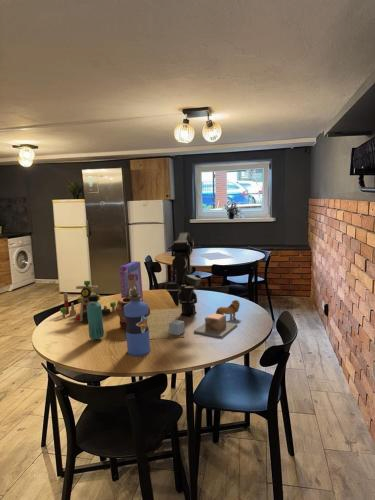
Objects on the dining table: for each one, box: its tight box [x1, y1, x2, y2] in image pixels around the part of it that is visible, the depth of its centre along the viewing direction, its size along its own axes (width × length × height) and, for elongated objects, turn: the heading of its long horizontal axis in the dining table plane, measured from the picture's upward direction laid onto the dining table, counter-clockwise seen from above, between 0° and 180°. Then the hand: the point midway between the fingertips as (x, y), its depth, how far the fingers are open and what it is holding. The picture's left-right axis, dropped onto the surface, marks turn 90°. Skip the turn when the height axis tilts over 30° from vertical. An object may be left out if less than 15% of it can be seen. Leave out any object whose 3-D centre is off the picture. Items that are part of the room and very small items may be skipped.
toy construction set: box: [59, 280, 117, 323], centre depth 183 cm, size 27×22×21 cm
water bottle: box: [124, 290, 151, 357], centre depth 135 cm, size 9×9×25 cm
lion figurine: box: [215, 299, 241, 320], centre depth 168 cm, size 15×5×9 cm, turn 116°
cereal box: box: [118, 261, 144, 301], centre depth 202 cm, size 17×5×24 cm, turn 162°
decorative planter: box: [115, 297, 151, 331], centre depth 163 cm, size 20×12×14 cm, turn 66°
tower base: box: [193, 312, 238, 339], centre depth 156 cm, size 14×16×6 cm
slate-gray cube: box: [168, 319, 186, 336], centre depth 154 cm, size 5×5×5 cm
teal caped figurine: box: [87, 294, 105, 340], centre depth 149 cm, size 6×7×20 cm
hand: (182, 304), depth 152 cm, fingers open, 9 cm apart
